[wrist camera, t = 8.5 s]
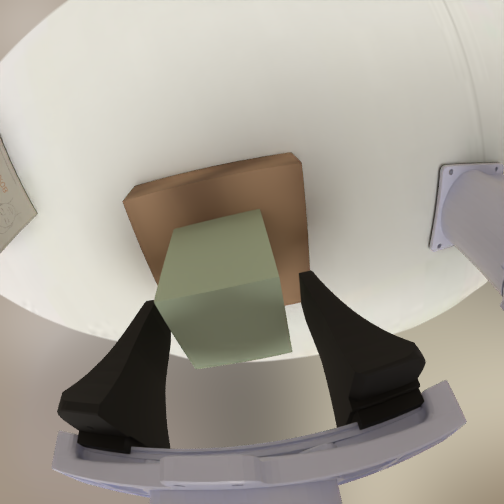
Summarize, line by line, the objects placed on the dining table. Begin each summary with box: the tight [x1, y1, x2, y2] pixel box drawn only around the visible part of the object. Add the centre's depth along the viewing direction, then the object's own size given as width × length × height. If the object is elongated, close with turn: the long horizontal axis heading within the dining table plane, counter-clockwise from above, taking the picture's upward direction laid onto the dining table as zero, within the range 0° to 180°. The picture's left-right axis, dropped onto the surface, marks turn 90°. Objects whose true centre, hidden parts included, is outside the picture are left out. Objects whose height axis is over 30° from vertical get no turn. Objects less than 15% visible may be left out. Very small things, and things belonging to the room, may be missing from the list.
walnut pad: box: [123, 152, 310, 306], centre depth 18 cm, size 10×10×3 cm
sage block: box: [154, 209, 292, 369], centre depth 14 cm, size 5×5×6 cm
